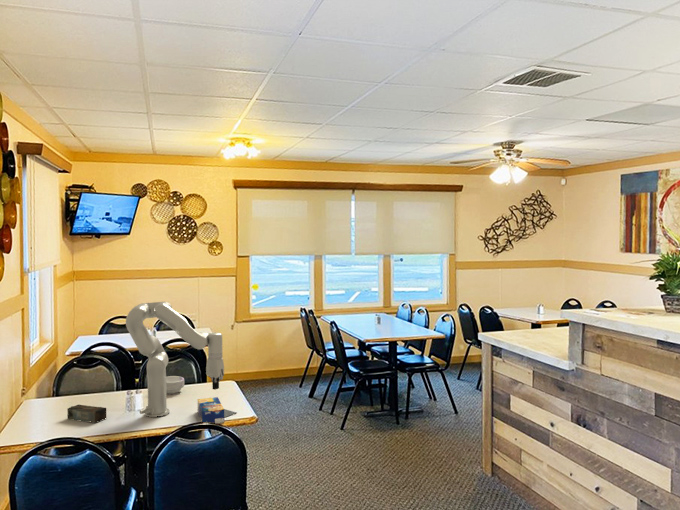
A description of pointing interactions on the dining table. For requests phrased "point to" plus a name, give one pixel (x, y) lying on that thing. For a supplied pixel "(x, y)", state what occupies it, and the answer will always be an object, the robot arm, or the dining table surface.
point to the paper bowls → (174, 384)
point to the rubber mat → (228, 413)
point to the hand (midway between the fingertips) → (215, 388)
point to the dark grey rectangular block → (86, 413)
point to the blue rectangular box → (211, 410)
